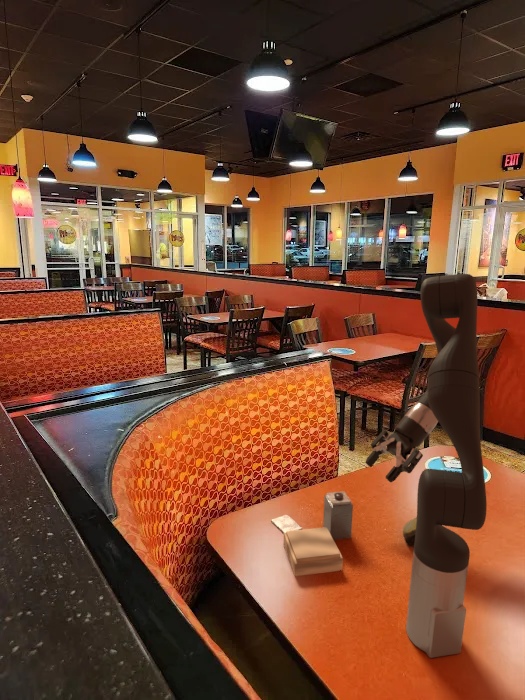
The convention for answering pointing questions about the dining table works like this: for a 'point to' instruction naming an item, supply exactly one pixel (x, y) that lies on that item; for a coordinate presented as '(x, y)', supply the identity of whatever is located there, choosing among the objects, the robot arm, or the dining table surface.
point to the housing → (338, 514)
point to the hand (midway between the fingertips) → (377, 472)
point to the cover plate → (285, 524)
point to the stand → (312, 551)
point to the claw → (410, 532)
